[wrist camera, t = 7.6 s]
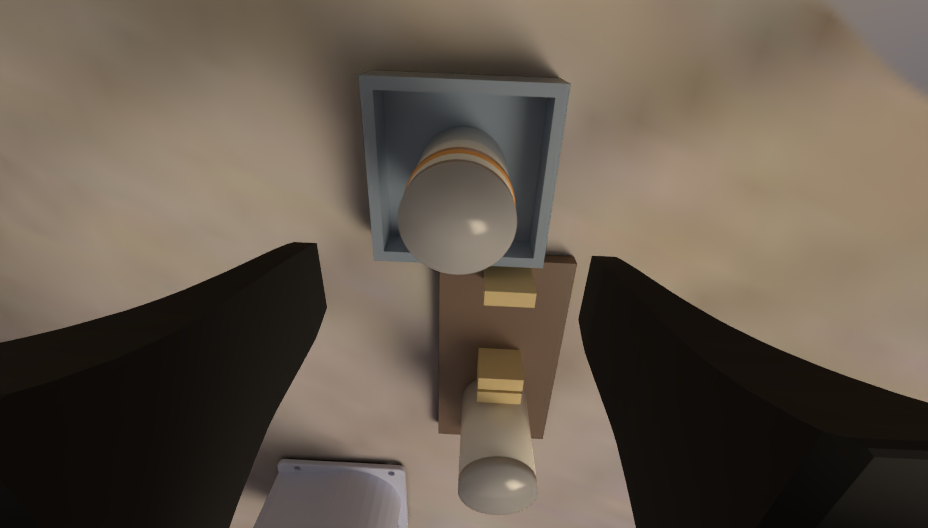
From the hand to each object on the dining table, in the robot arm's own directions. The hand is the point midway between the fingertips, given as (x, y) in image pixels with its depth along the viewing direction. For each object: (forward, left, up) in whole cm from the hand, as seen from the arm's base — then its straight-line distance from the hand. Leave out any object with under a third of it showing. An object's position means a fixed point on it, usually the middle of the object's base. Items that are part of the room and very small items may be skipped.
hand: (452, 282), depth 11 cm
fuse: (+2, -14, -9) cm, 17 cm away
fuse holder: (+2, -11, -10) cm, 15 cm away
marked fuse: (0, 0, -9) cm, 9 cm away
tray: (0, 0, -10) cm, 10 cm away
